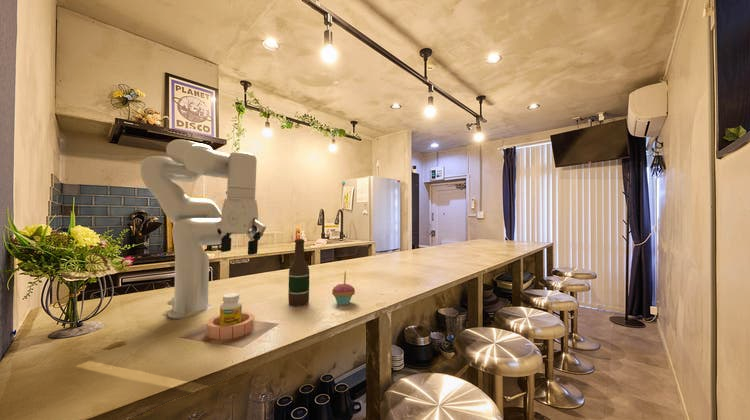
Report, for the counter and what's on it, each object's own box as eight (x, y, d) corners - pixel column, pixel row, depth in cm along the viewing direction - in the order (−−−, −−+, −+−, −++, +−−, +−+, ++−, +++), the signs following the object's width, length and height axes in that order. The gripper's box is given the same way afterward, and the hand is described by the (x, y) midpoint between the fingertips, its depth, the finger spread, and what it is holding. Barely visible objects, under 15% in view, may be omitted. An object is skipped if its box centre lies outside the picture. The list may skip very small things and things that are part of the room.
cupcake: (335, 299, 109) (336, 268, 109) (356, 300, 108) (357, 269, 108) (329, 306, 101) (329, 273, 101) (351, 307, 100) (352, 274, 100)
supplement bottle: (240, 324, 80) (240, 291, 81) (242, 331, 76) (243, 296, 76) (218, 328, 78) (219, 294, 78) (220, 335, 73) (221, 299, 73)
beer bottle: (306, 306, 100) (307, 240, 100) (284, 306, 100) (285, 240, 100) (311, 300, 108) (312, 238, 108) (291, 299, 108) (292, 238, 108)
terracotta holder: (196, 336, 73) (197, 324, 73) (229, 320, 84) (230, 310, 84) (233, 341, 70) (233, 329, 70) (262, 324, 81) (262, 314, 81)
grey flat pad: (177, 341, 72) (177, 336, 72) (222, 320, 86) (222, 316, 86) (242, 352, 67) (242, 347, 67) (278, 327, 81) (278, 323, 81)
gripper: (207, 193, 81) (205, 252, 81) (256, 194, 76) (254, 257, 76) (228, 195, 88) (226, 248, 88) (274, 196, 83) (272, 253, 83)
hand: (239, 252), depth 82 cm, fingers open, 9 cm apart
